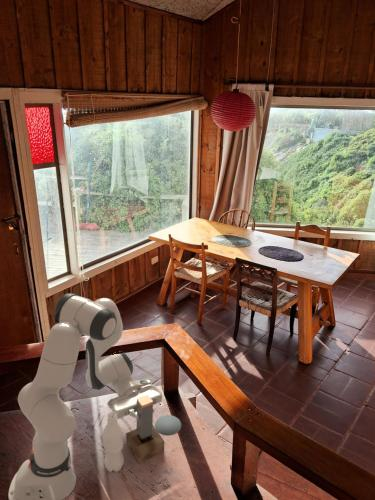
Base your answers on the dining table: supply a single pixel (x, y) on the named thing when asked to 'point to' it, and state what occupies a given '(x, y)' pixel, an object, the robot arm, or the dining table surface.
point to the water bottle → (113, 443)
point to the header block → (144, 444)
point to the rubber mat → (168, 425)
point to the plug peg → (145, 416)
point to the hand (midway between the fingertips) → (145, 414)
